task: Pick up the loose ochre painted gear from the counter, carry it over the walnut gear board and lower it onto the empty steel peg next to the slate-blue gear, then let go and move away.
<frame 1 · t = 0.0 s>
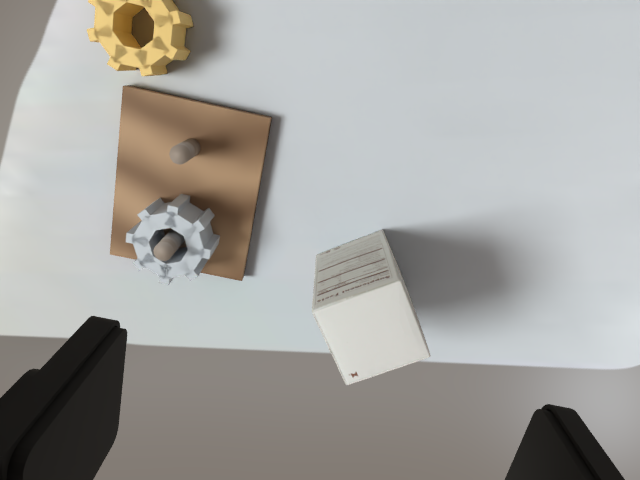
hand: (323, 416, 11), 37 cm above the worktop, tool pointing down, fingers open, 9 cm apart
gear board: (189, 186, 47), on the worktop
slate gear: (180, 231, 47), resting on gear board
supplement box: (361, 270, 50), on the worktop
ochre gear: (150, 29, 43), on the worktop
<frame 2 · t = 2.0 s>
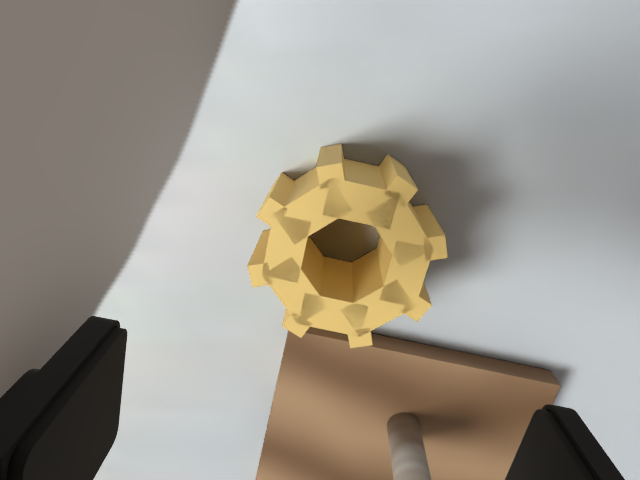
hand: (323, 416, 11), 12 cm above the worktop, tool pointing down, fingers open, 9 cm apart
gear board: (380, 467, 27), on the worktop
ochre gear: (345, 227, 22), on the worktop
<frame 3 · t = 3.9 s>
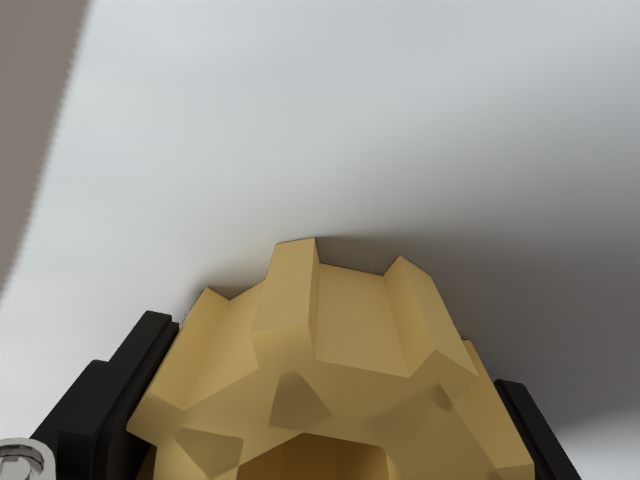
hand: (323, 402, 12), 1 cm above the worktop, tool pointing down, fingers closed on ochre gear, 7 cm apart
ochre gear: (323, 376, 13), on the worktop, touching gripper
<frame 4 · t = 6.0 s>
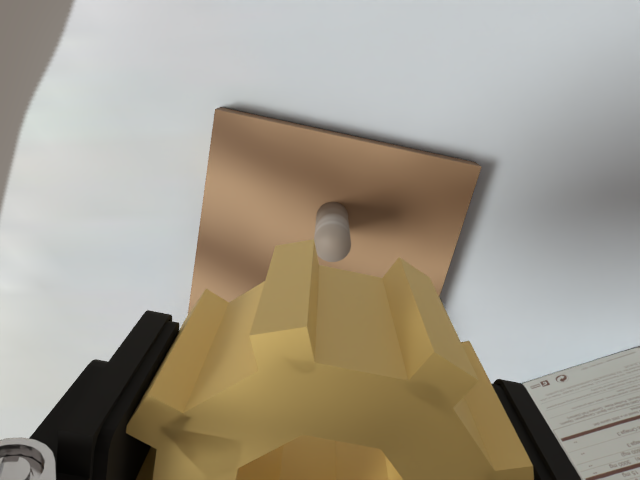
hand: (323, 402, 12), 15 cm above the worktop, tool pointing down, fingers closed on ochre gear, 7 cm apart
gear board: (316, 278, 27), on the worktop
supplement box: (589, 407, 30), on the worktop
ochre gear: (323, 378, 13), point 14 cm above the worktop, touching gripper
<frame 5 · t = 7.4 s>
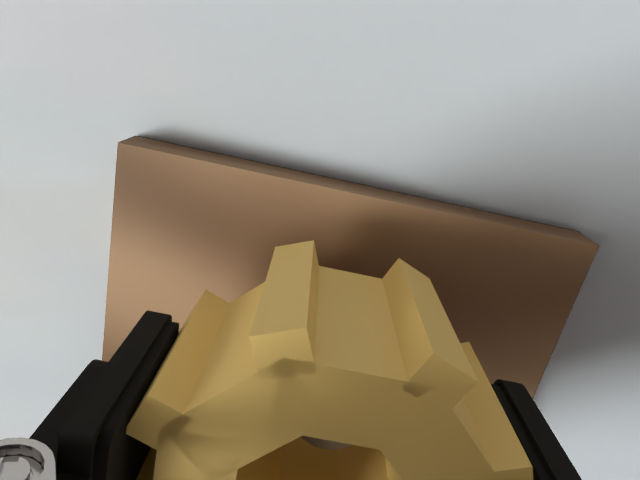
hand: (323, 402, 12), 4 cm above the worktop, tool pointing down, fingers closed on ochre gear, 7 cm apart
gear board: (306, 409, 17), on the worktop
ochre gear: (323, 378, 13), point 3 cm above the worktop, touching gripper
when the fingers open (3 cm above the worktop, at t = 8.5 s): ochre gear drops 1 cm, resting on gear board.
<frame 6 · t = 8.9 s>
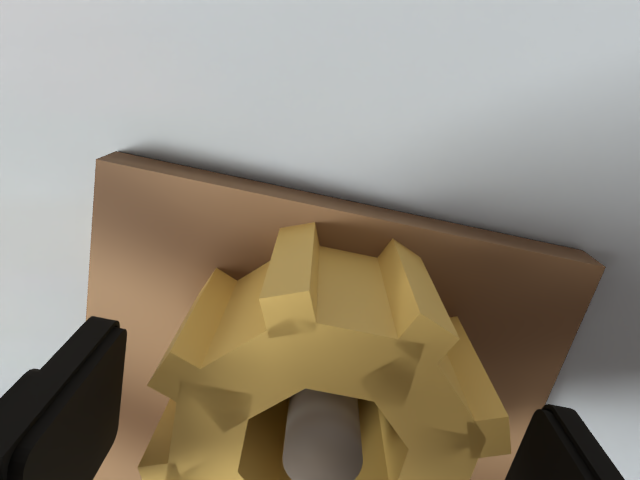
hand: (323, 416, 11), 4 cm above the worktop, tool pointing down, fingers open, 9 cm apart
gear board: (298, 435, 16), on the worktop
ochre gear: (323, 351, 14), point 1 cm above the worktop, touching gear board
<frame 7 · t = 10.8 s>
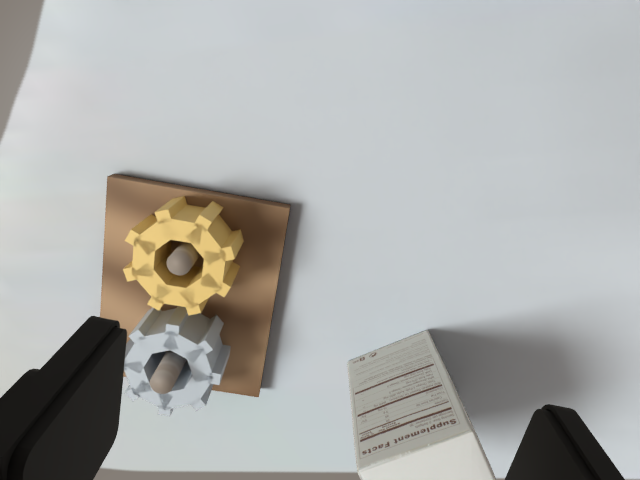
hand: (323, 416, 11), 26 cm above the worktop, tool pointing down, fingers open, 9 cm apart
gear board: (192, 288, 39), on the worktop
slate gear: (183, 343, 39), resting on gear board
supplement box: (402, 377, 41), on the worktop
ochre gear: (193, 245, 36), point 1 cm above the worktop, touching gear board
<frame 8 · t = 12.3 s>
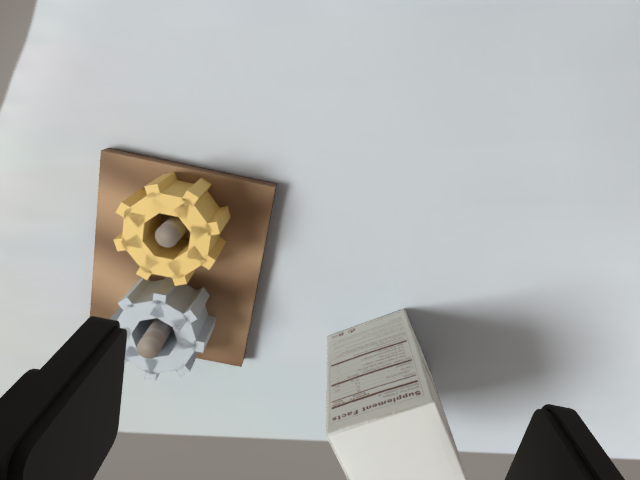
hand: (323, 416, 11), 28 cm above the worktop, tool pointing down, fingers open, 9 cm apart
gear board: (180, 261, 41), on the worktop
slate gear: (170, 312, 41), resting on gear board
supplement box: (379, 353, 43), on the worktop
ochre gear: (182, 219, 38), point 1 cm above the worktop, touching gear board
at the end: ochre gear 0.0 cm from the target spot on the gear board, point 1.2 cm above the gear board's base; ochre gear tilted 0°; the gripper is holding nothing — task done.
